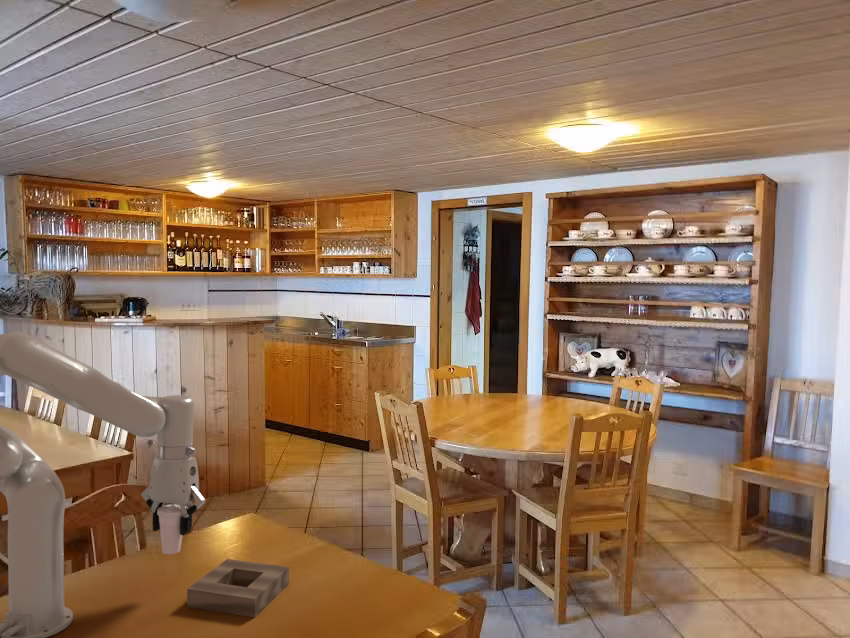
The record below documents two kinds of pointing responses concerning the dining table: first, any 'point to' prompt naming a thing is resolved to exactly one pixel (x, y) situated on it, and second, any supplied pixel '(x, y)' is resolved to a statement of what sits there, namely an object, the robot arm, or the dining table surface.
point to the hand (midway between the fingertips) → (171, 530)
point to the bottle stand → (238, 587)
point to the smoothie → (170, 528)
